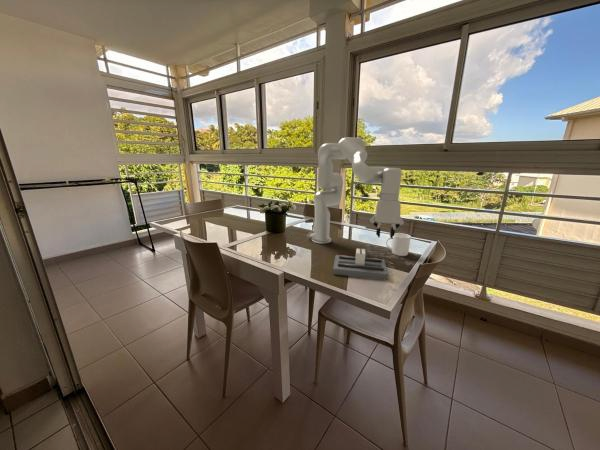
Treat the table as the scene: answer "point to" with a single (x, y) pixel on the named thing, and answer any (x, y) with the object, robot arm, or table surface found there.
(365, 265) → the breaker panel
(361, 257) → the breaker toggle
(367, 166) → the robot arm
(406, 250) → the mug
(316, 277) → the table surface
